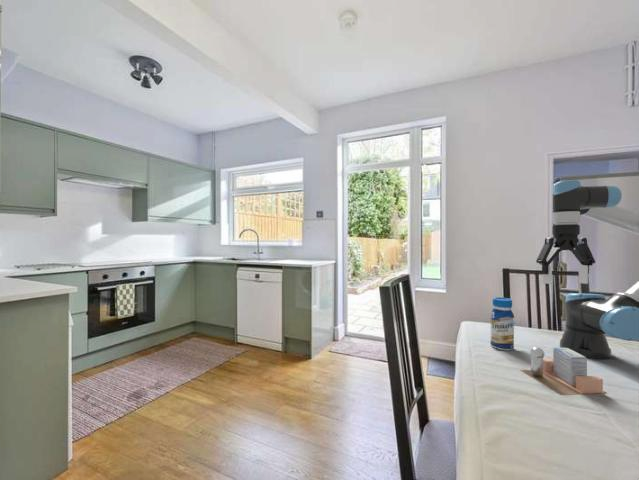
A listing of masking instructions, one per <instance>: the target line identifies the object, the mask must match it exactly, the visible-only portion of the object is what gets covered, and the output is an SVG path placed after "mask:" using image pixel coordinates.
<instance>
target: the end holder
mask: <svg viewBox="0 0 639 480" xmlns="http://www.w3.org/2000/svg"><path fill="white" fill-rule="evenodd" d="M543 373H544V374H546V375H547V376H549V377H551V378H553V379H555V380H557V381H558V382H560V383H562V384H564V385H566V386H567V387H569V388H571V389H573V390H575V391H576V392H578V393H580V394H579V395H598V393H603V394H605V393H604V392H605V391H604V389H603V388H604V386H603V385H604V384H603V383H604V379H603V378H601V377H599V376H597V375H587V376H576V386H571V385H570V384H568V383H567V382H565V381H564V380H562V379H561V378H559V377H558V376H556V375H555V374H554V373H553V358H543ZM603 391H604V392H603Z"/></svg>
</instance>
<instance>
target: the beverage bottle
mask: <svg viewBox="0 0 639 480" xmlns="http://www.w3.org/2000/svg"><path fill="white" fill-rule="evenodd" d="M492 306H493V308H492V310H491V311H490V316H491V317H490V320H489V321H490V346H491V347H492V348H494V349H496V348H497V350H500V351H512V350H514V349H515V346H514V345H515V324H516V323H515V321H514V319H515V315H514V313H513V311H512V308H513V300H512V299H511V298H507V297H500V296H498V297H493V298H492Z"/></svg>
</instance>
